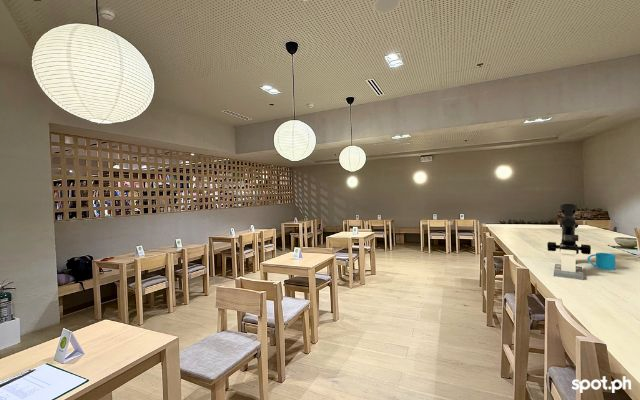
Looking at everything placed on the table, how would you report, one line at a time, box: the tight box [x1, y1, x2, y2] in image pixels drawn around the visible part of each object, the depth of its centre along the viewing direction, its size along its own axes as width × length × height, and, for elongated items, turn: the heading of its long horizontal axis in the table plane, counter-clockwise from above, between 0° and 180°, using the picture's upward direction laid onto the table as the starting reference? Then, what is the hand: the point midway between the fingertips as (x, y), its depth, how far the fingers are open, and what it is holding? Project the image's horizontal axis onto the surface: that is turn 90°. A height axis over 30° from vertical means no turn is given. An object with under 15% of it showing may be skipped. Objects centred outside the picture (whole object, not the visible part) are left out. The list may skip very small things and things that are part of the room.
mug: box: [587, 252, 616, 271], centre depth 172 cm, size 12×8×8 cm
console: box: [553, 263, 584, 281], centre depth 163 cm, size 22×12×2 cm, turn 139°
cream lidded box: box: [559, 249, 577, 272], centre depth 160 cm, size 4×7×11 cm, turn 49°
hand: (568, 260), depth 162 cm, fingers closed, pressing on cream lidded box
